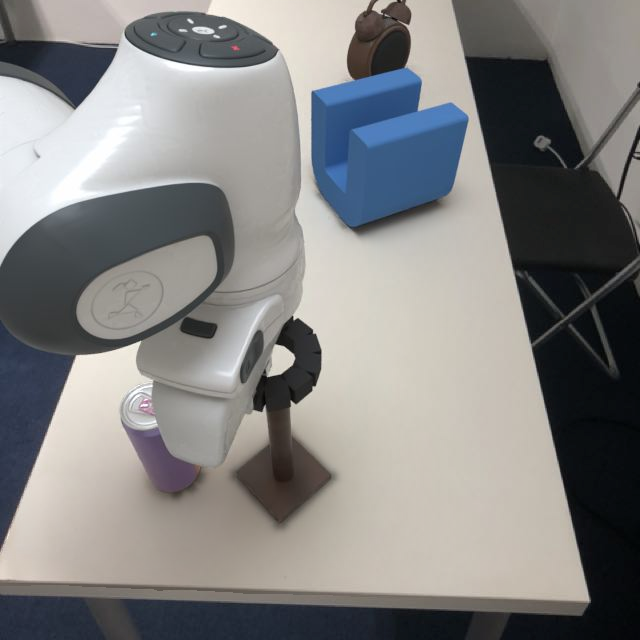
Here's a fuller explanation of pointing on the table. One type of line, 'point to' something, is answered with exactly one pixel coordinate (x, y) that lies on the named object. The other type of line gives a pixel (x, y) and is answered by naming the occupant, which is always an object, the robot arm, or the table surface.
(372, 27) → the alarm clock
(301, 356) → the ring
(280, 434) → the post
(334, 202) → the block
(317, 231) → the table surface
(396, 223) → the table surface
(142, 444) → the beverage can
